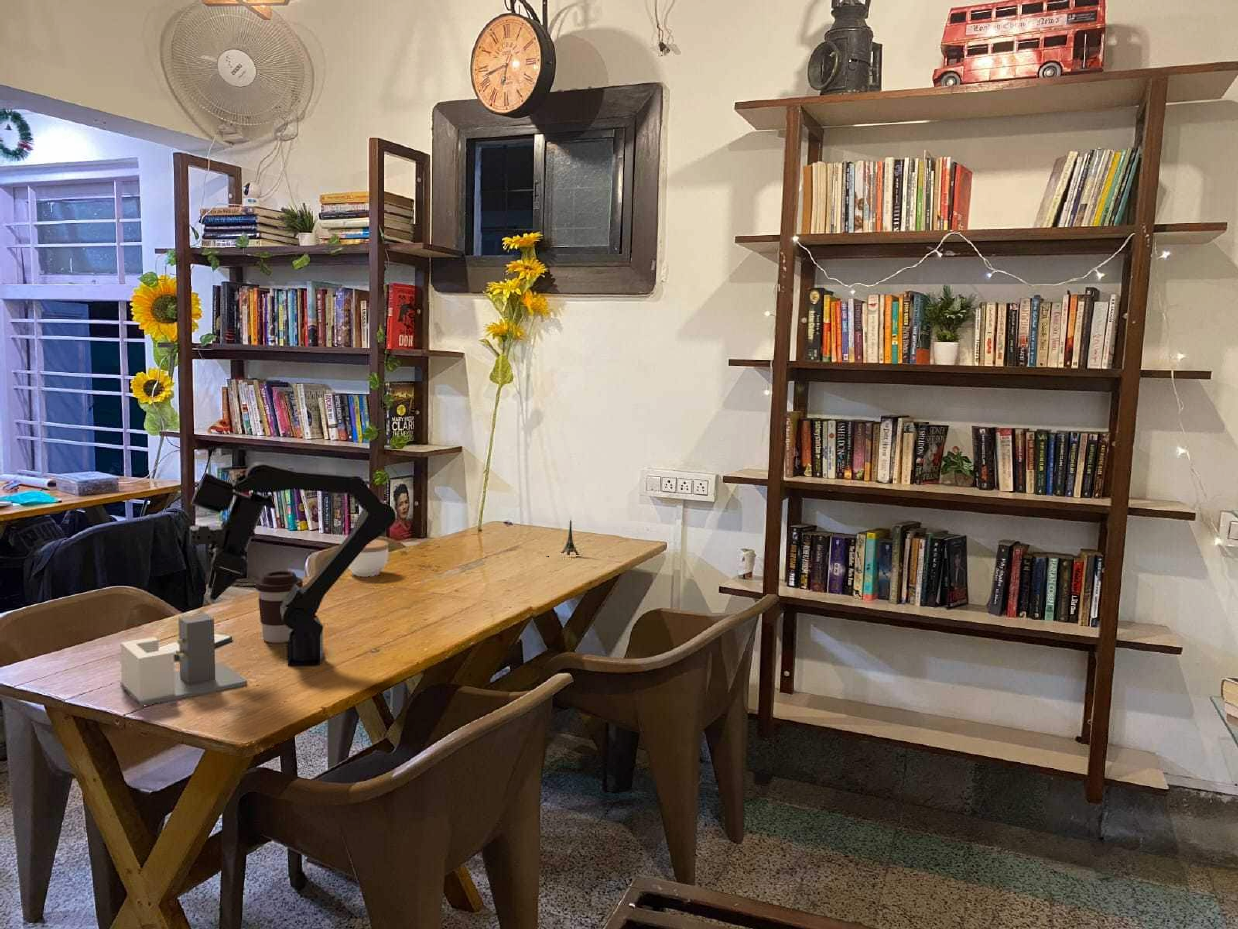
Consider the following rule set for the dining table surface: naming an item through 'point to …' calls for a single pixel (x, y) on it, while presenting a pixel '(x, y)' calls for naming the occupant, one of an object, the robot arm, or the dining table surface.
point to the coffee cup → (275, 603)
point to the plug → (196, 648)
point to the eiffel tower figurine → (570, 543)
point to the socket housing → (165, 674)
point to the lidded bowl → (371, 559)
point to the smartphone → (218, 638)
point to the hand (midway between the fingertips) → (211, 593)
